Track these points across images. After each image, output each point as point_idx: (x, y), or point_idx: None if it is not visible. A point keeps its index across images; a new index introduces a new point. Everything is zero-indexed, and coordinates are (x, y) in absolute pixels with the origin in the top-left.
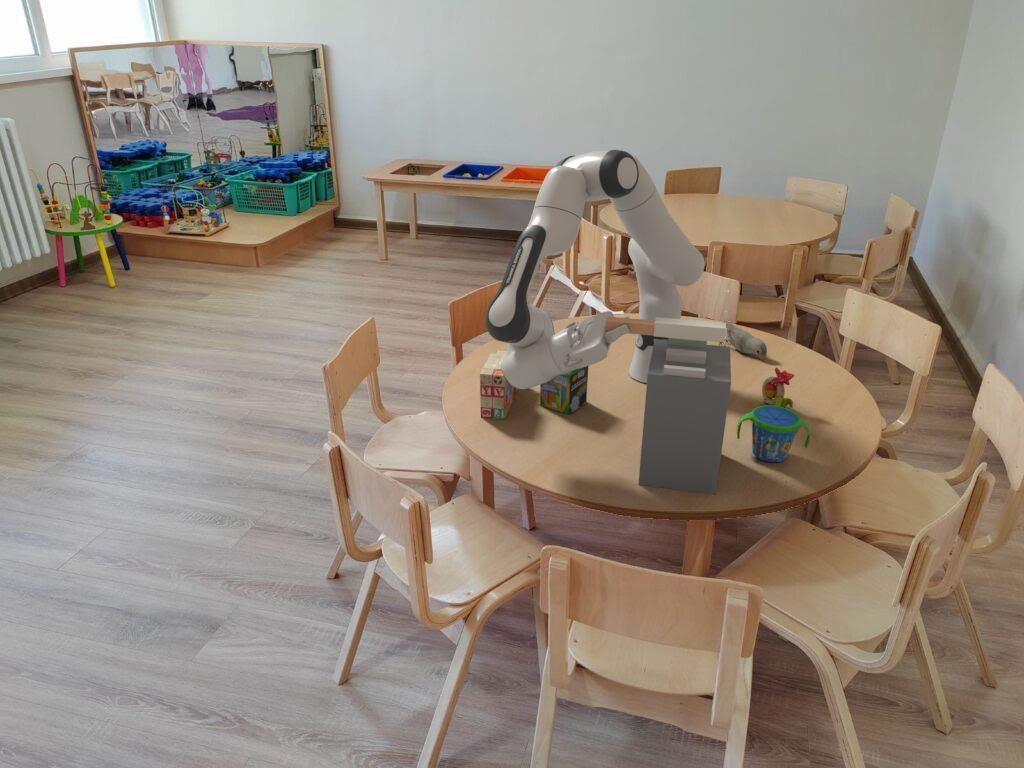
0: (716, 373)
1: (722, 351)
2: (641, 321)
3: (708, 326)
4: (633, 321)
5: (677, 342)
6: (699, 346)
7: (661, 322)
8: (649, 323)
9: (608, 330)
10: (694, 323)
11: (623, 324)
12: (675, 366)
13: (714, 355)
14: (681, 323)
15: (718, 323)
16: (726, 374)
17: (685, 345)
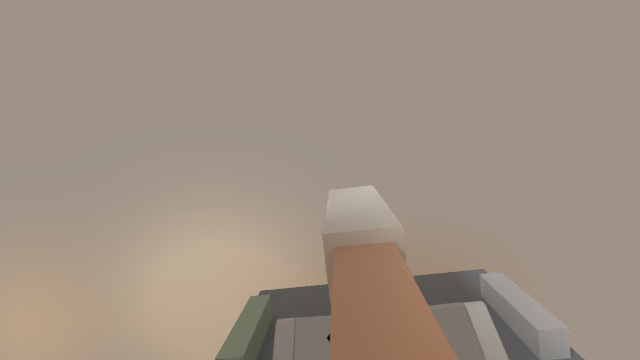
0: (448, 286)
1: (294, 294)
2: (369, 266)
3: (371, 191)
4: (383, 283)
5: (253, 352)
6: (269, 321)
7: (386, 220)
8: (385, 250)
9: None
10: (358, 199)
11: (448, 319)
12: (523, 310)
13: (326, 300)
14: (372, 205)
15: (340, 191)
16: (442, 276)
17: (261, 344)
